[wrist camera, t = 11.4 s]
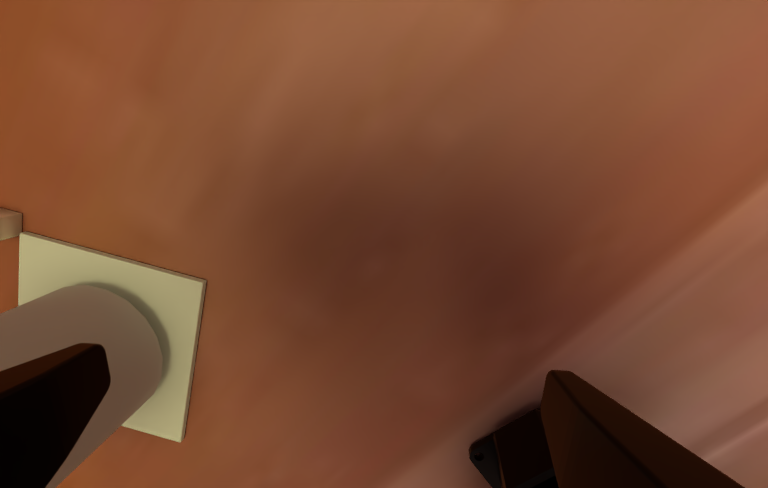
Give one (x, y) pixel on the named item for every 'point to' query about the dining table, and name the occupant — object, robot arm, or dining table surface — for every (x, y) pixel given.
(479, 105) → the dining table surface
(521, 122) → the dining table surface
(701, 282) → the dining table surface
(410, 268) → the dining table surface
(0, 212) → the shelf lane
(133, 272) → the mat
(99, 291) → the can
